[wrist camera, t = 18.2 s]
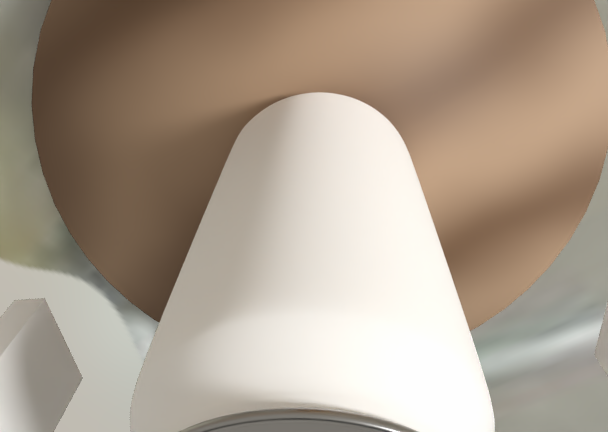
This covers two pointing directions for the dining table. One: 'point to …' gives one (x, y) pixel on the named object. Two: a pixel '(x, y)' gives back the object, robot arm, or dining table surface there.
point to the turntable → (328, 79)
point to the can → (314, 292)
